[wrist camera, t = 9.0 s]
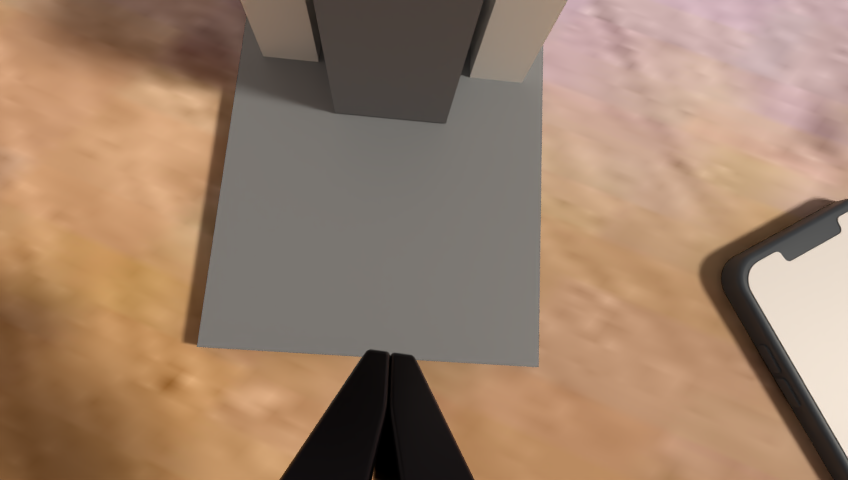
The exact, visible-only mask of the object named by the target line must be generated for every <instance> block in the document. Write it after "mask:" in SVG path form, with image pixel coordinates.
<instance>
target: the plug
mask: <svg viewBox="0 0 848 480" xmlns="http://www.w3.org/2000/svg"><path fill="white" fill-rule="evenodd" d="M483 1H484V0H313V3H314V8H315V13H316V18H317V23H318V28H319V33H320V38H321V43H322V48H323V53H324V58H325V64H326V69H327V74H328V79H329V84H330V89H331V94H332V99H333V104H334V109H335V113H341V114H351V115H362V116H372V117H383V118H393V119H404V120H414V121H425V122H435V123H446V121H447V118H448V115H449V112H450V108H451V105H452V102H453V99H454V95H455V92H456V89H457V86H458V82H459V79H460V76H461V72H462V69H463V66H464V63H465V59H466V56H467V53H468V50H469V46H470V43H471V40H472V37H473V33H474V30H475V27H476V24H477V20H478V17H479V14H480V10H481V7H482V4H483Z"/></svg>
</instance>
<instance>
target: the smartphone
mask: <svg viewBox="0 0 848 480" xmlns="http://www.w3.org/2000/svg"><path fill="white" fill-rule="evenodd" d="M721 280H722V286H723V290H724V292H725V294H726V296H727V297H728V299H729V301H730V303H731V304H732V306H733V308H734V310H735V311H736V313H737V315H738V317H739V318H740V320H741V322H742V324H743V325H744V327H745V329H746V331H747V332H748V334H749V336H750V337H751V339H752V341H753V343H754V344H755V346H756V348H757V349H758V351H759V353H760V355H761V356H762V358H763V360H764V361H765V363H766V365H767V367H768V368H769V370H770V372H771V373H772V375H773V377H774V379H775V380H776V382H777V384H778V385H779V387H780V389H781V391H782V392H783V394H784V396H785V397H786V399H787V401H788V402H789V404H790V406H791V408H792V409H793V411H794V413H795V414H796V416H797V418H798V420H799V421H800V423H801V425H802V426H803V428H804V430H805V432H806V433H807V435H808V437H809V438H810V440H811V442H812V443H813V445H814V447H815V448H816V450H817V452H818V454H819V455H820V457H821V459H822V460H823V462H824V464H825V465H826V467H827V469H828V470H829V472H830V474H831V476H832V477H833V479H834V480H848V199H845V200H841V201H837V202H834V203H832V204H830V205H828V206H826V207H824V208H822V209H820V210H819V211H817V212H815V213H813V214H811V215H809V216H808V217H806V218H804V219H802V220H800V221H798V222H797V223H795V224H793V225H791V226H789V227H787V228H786V229H784V230H782V231H780V232H778V233H776V234H775V235H773V236H771V237H769V238H767V239H766V240H764V241H762V242H760V243H758V244H756V245H755V246H753V247H751V248H749V249H747V250H745V251H744V252H742V253H740V254H738V255H736V256H734V257H733V258H731V259H730V260H729V261H728V262H727V263H726V264H725V266H724V268H723V271H722V277H721Z"/></svg>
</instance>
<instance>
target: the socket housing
mask: <svg viewBox="0 0 848 480" xmlns="http://www.w3.org/2000/svg"><path fill="white" fill-rule="evenodd" d="M240 1H241V3H242V6H243V8H244V11H245V13H246V23H245V30H244V36H243V43H242V50H241V56H240V63H239V70H238V76H237V83H236V90H235V96H234V103H233V110H232V116H231V123H230V130H229V136H228V143H227V150H226V156H225V163H224V170H223V176H222V183H221V190H220V196H219V203H218V210H217V216H216V223H215V230H214V236H213V243H212V250H211V256H210V263H209V270H208V276H207V283H206V290H205V296H204V303H203V310H202V316H201V323H200V330H199V336H198V343H197V347H208V348H225V349H241V350H258V351H275V352H292V353H308V354H325V355H342V356H359V357H362V356H363V355H364V353H365V352H366V351H367V350H369V349H373V350H381V351H387V352H389V354H390V355H391V354H392V353H394V352H396V353H403V354H410V355H413V356H414V357H415V359H416V360H426V361H443V362H459V363H476V364H493V365H510V366H527V367H539V297H540V226H541V155H542V84H543V44H544V42H545V40H546V38H547V37H548V35H549V33H550V31H551V29H552V28H553V26H554V24H555V22H556V20H557V19H558V17H559V15H560V13H561V11H562V9H563V8H564V6H565V4H566V2H567V0H484V1H483V4H482V7H481V10H480V14H479V17H478V20H477V24H476V27H475V30H474V33H473V37H472V40H471V43H470V46H469V50H468V53H467V56H466V59H465V63H464V66H463V69H462V72H461V76H460V79H459V82H458V86H457V89H456V92H455V95H454V99H453V102H452V105H451V108H450V112H449V115H448V118H447V121H446V123H435V122H425V121H414V120H404V119H393V118H383V117H372V116H362V115H351V114H341V113H335V109H334V104H333V99H332V94H331V89H330V84H329V79H328V74H327V69H326V64H325V58H324V53H323V48H322V43H321V38H320V33H319V28H318V23H317V18H316V13H315V8H314V3H313V0H240Z"/></svg>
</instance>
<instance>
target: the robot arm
mask: <svg viewBox="0 0 848 480" xmlns="http://www.w3.org/2000/svg"><path fill="white" fill-rule="evenodd" d="M372 476H373V480H474V478H473V476H472V474H471V472H470V470H469V468H468V466H467V464H466V462H465V460H464V457H463V455H462V453H461V451H460V449H459V447H458V445H457V443H456V441H455V439H454V437H453V435H452V433H451V431H450V429H449V427H448V425H447V423H446V420H445V418H444V416H443V414H442V412H441V410H440V408H439V406H438V404H437V402H436V400H435V398H434V396H433V394H432V392H431V390H430V388H429V386H428V383H427V381H426V379H425V377H424V375H423V373H422V371H421V369H420V367H419V365H418V363H417V361H416V359H415V357H414V356H413V355H410V354H403V353H396V352H394V353H392V354H391V355H390V354H389V352H387V351H381V350H373V349H369V350H367V351H366V352H365V353H364V355H363V356H362V358H361V359H360V361H359V362H358V364H357V365H356V367H355V368H354V370H353V371H352V373H351V374H350V376H349V377H348V379H347V380H346V382H345V383H344V385H343V386H342V388H341V389H340V391H339V392H338V394H337V395H336V397H335V398H334V400H333V401H332V403H331V404H330V406H329V407H328V409H327V410H326V411H325V413H324V414H323V416H322V417H321V419H320V420H319V422H318V423H317V425H316V426H315V428H314V429H313V431H312V432H311V434H310V435H309V437H308V438H307V440H306V441H305V443H304V444H303V446H302V447H301V449H300V450H299V452H298V453H297V455H296V456H295V458H294V459H293V461H292V462H291V464H290V465H289V467H288V468H287V470H286V471H285V473H284V474H283V475H282V477H281V478H280V480H372Z"/></svg>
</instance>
